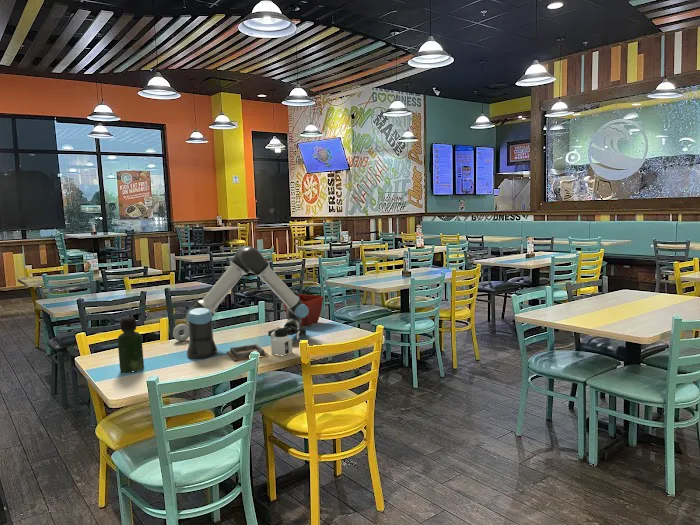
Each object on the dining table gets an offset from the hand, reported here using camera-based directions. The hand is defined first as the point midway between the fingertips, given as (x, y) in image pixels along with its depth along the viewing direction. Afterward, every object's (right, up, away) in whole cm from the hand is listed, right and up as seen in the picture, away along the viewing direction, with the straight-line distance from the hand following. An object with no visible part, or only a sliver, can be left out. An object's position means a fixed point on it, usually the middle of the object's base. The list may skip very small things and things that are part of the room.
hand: (284, 337), depth 264 cm
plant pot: (+5, -1, +61) cm, 61 cm away
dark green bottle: (-70, -13, -22) cm, 74 cm away
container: (-1, -8, -4) cm, 9 cm away
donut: (-62, -7, +28) cm, 69 cm away
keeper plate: (-19, -9, -4) cm, 21 cm away
